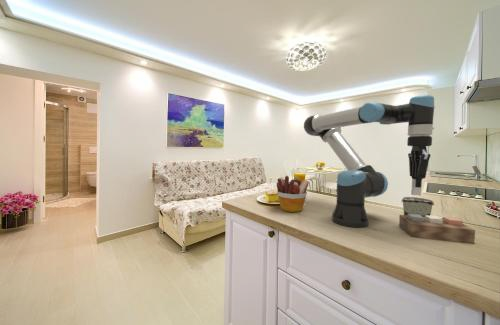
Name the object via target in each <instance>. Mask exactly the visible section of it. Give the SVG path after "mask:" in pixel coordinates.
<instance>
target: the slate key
mask: <svg viewBox="0 0 500 325" xmlns="http://www.w3.org/2000/svg"><path fill="white" fill-rule="evenodd" d="M408 220H410V221H413V222H424V217H422V216H420V215H416V214H408Z"/></svg>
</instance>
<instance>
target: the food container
mask: <svg viewBox="0 0 500 325" xmlns="http://www.w3.org/2000/svg"><path fill="white" fill-rule="evenodd" d="M401 203H402V206H403V208H402V209H403V215H408V214H416V215H420V216H422V217H425V215H428V216H432V214H431V213H432V210H433V209H432V208H433V206H435V203H434V201H433V200H431V199H428V198H422V197H418V196H417V197H415V196H414V197H413V196H405V197H402V199H401Z"/></svg>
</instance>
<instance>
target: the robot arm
mask: <svg viewBox="0 0 500 325" xmlns="http://www.w3.org/2000/svg"><path fill="white" fill-rule="evenodd" d="M434 113H435V97H434V96H433V95H431V94H423V95H415V96H413V97H410V99H409V103H405V104H399V105H394V104H393V105H392V104H388V103H387V104H385V103H381V102H378V101H373V102H372V101H369V102H366V103H364V104H363V105H361V106H357V107H354V108H350V109H344V110H340V111H335V112H332V113H328V114H323V115H322V114H313V115H310V116H308V117H307V118H306V119H305V120H304V123H303V129H304V132H305V133H306V134H308V135H309V136H313V137H320V139H321V140H322V142H323V143H327V144H328V145H329V147H330V148H331V149H332V150H333V152H334V153H335V155H336V156H337V157H338V159H339V161H341V164H343V166H344V167H345V168H346V169H347V170H344V171H339V173H337V177H336V178H337V179H336V204H335V207H334V209H333V211H332V215H331V220H332V222H334V223H335V224H338V225H339V226H345V227H348V228H349V227H351V228H364V227H367V226H368V225H369V217H368V214H367V211H366V207H365V200H366V198H372V197H379V196H381V195H383V194H384V193H385V192H386V191H387V190H388V186H389V182H388V181H389V180H388V178H387V177H386V175H385V174H384V173H382V172H379V171H376V170H375V168H374V167H373V166H372V165H371V164H366V163H365V161H364V160H363V159H362V158H361V157H360V156H359V154H358V153H357V152H356V150H355V148H353V147H352V145H351V144H350V143H349V142H348V140H347V139H346V138H345V136H343V135H342V129H341V128H344V127H350V126H351V127H352V126H356V125H362V124H363V125H364V124H371V123H379V124H380V125H387V126H388V125H393V124H403V123H404V124H405V123H408V126H407V136H408V137H407V142H406V143H407V147H411V150H410V152H409V153H408V154H407V155H408V164H409V165H408V168H409V169H408V171H409V176H410V178H411V179H412V180H411V193H410V195H412V196H419V197H421V196H422V184H423V179H426V177H427V173H428V172H427V171H428V167H429V162H430V159H431V153H428V149H427V147H431V146H432V145H433V137H432V136H433V130H435V127H433V125H434V115H435V114H434Z"/></svg>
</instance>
